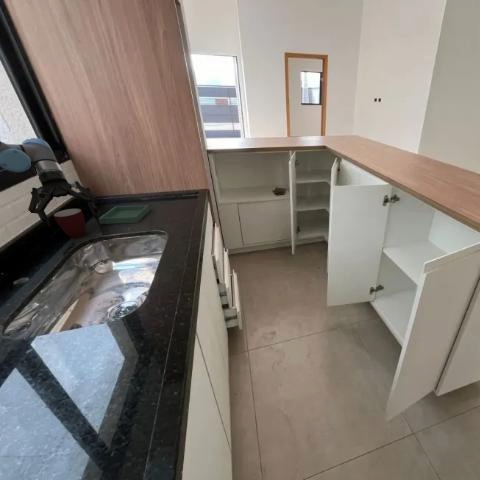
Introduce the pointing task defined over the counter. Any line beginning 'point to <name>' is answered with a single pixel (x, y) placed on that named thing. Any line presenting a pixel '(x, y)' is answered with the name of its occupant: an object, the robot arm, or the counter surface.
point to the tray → (124, 214)
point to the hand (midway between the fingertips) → (74, 221)
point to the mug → (71, 222)
